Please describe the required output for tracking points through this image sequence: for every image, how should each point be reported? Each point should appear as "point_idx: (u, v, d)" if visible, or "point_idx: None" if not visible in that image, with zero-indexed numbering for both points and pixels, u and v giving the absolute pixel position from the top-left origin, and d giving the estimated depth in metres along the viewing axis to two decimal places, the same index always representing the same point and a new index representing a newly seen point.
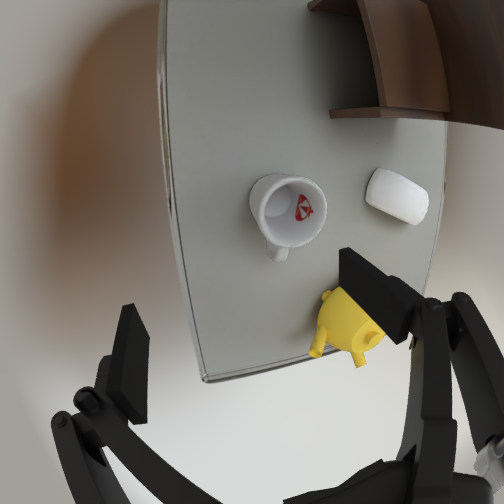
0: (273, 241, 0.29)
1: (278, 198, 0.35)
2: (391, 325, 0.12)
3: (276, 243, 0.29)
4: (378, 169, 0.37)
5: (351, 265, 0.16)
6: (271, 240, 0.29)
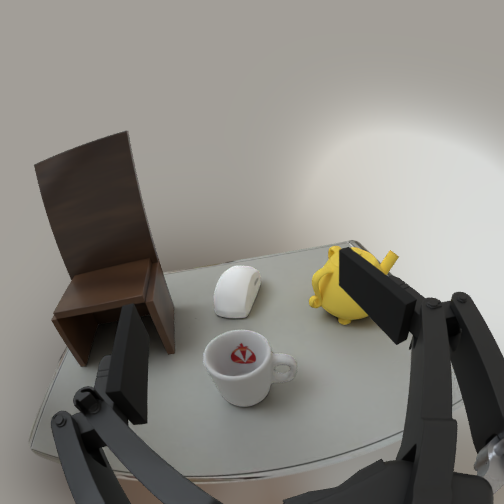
0: (263, 364, 0.28)
1: None
2: (391, 325, 0.12)
3: (265, 361, 0.28)
4: (216, 312, 0.48)
5: (351, 264, 0.16)
6: (262, 365, 0.27)
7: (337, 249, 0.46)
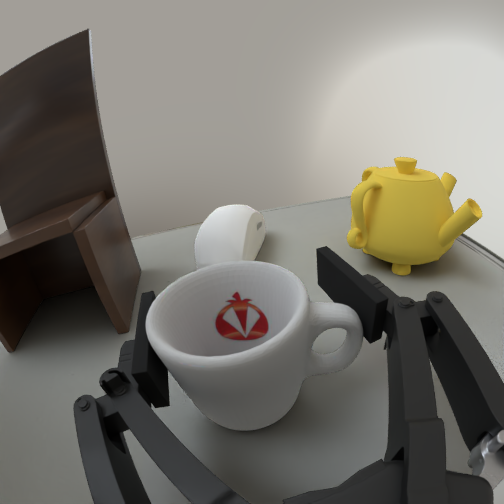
0: (294, 321, 0.11)
1: None
2: (364, 324, 0.13)
3: (299, 314, 0.11)
4: None
5: (327, 263, 0.16)
6: (292, 325, 0.10)
7: (376, 169, 0.29)
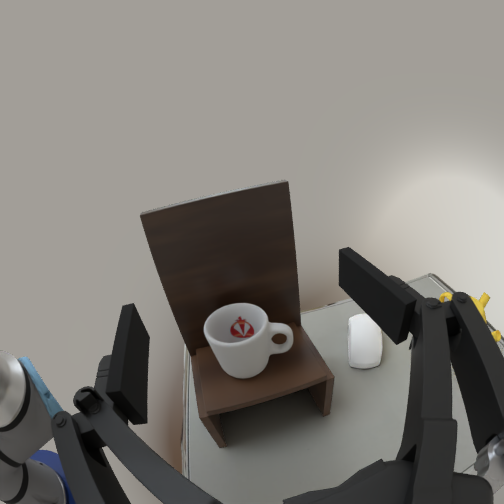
0: (260, 330, 0.30)
1: None
2: (391, 325, 0.12)
3: (262, 328, 0.31)
4: (351, 365, 0.45)
5: (351, 265, 0.16)
6: (259, 332, 0.30)
7: (450, 296, 0.42)
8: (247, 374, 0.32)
